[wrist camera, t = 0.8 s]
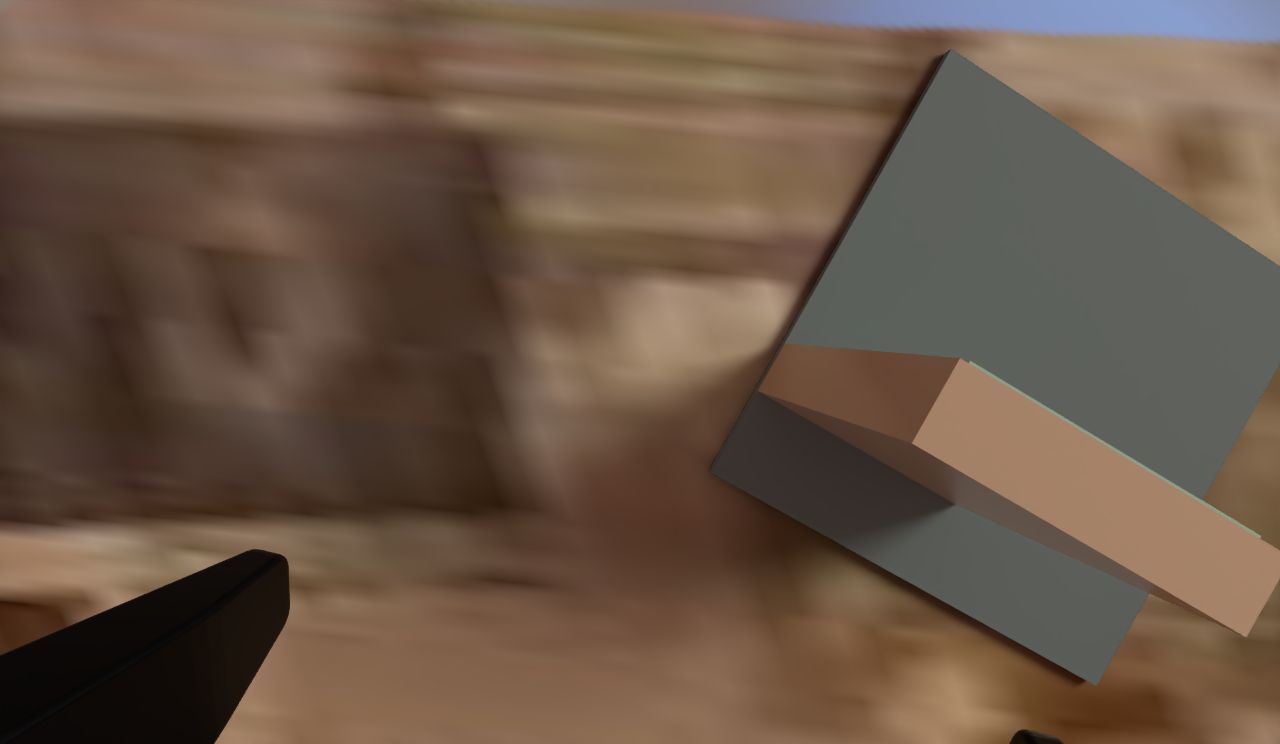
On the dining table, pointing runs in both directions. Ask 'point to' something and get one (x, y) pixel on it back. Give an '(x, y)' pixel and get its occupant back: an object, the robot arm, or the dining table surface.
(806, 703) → the dining table surface
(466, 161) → the dining table surface
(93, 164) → the dining table surface
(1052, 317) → the mat
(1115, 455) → the tile
